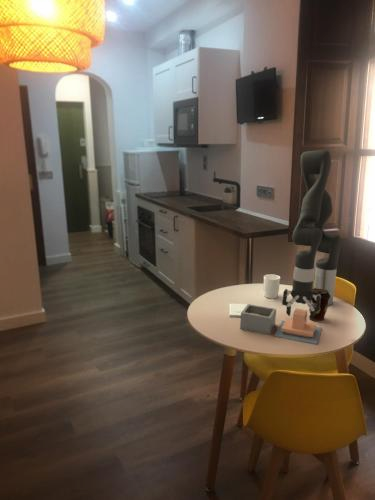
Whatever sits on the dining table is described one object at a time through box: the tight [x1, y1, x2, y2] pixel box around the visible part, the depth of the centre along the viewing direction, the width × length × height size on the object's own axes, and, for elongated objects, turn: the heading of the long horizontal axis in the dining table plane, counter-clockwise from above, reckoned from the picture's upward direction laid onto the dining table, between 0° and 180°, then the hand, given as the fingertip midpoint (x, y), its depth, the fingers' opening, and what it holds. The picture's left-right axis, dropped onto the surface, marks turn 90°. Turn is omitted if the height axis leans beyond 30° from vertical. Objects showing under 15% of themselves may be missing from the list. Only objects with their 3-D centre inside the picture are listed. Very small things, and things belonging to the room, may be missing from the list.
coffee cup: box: [308, 287, 330, 323], centre depth 174 cm, size 9×8×13 cm
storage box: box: [239, 303, 277, 336], centre depth 167 cm, size 10×12×7 cm
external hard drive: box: [229, 303, 248, 318], centre depth 183 cm, size 2×8×12 cm
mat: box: [273, 320, 322, 346], centre depth 164 cm, size 15×16×1 cm
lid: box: [281, 307, 317, 338], centre depth 163 cm, size 10×12×8 cm
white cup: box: [263, 273, 281, 300], centre depth 200 cm, size 8×8×10 cm
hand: (299, 317), depth 162 cm, fingers open, 8 cm apart
